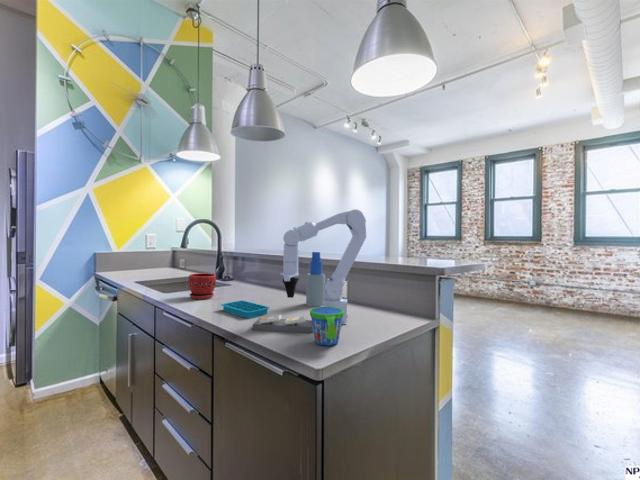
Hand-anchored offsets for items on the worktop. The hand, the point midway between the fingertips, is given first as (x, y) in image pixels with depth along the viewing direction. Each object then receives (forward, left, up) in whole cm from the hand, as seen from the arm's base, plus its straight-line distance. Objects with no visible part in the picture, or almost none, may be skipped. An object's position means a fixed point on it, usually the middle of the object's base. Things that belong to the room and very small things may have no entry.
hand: (290, 297), depth 121 cm
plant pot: (+53, -35, -10) cm, 64 cm away
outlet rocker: (+5, +10, -6) cm, 13 cm away
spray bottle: (-6, -30, -10) cm, 32 cm away
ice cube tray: (+22, -11, -10) cm, 27 cm away
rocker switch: (-4, +10, -6) cm, 12 cm away
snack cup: (-16, +20, -10) cm, 28 cm away
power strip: (0, +8, -9) cm, 12 cm away
